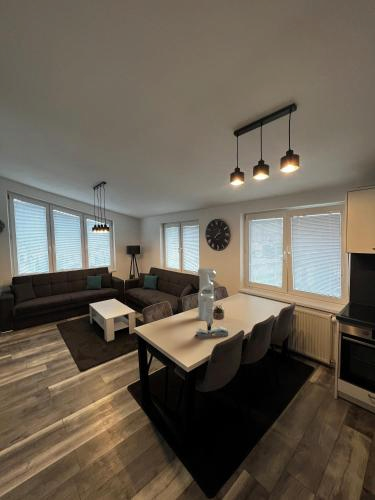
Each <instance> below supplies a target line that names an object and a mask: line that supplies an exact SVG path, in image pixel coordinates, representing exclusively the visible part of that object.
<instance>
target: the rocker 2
mask: <svg viewBox="0 0 375 500" xmlns="http://www.w3.org/2000/svg"><path fill="white" fill-rule="evenodd" d="M217 330H218V328H217V327H216V326H215V327H211V330H208V331H209V332H213V331H217Z"/></svg>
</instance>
